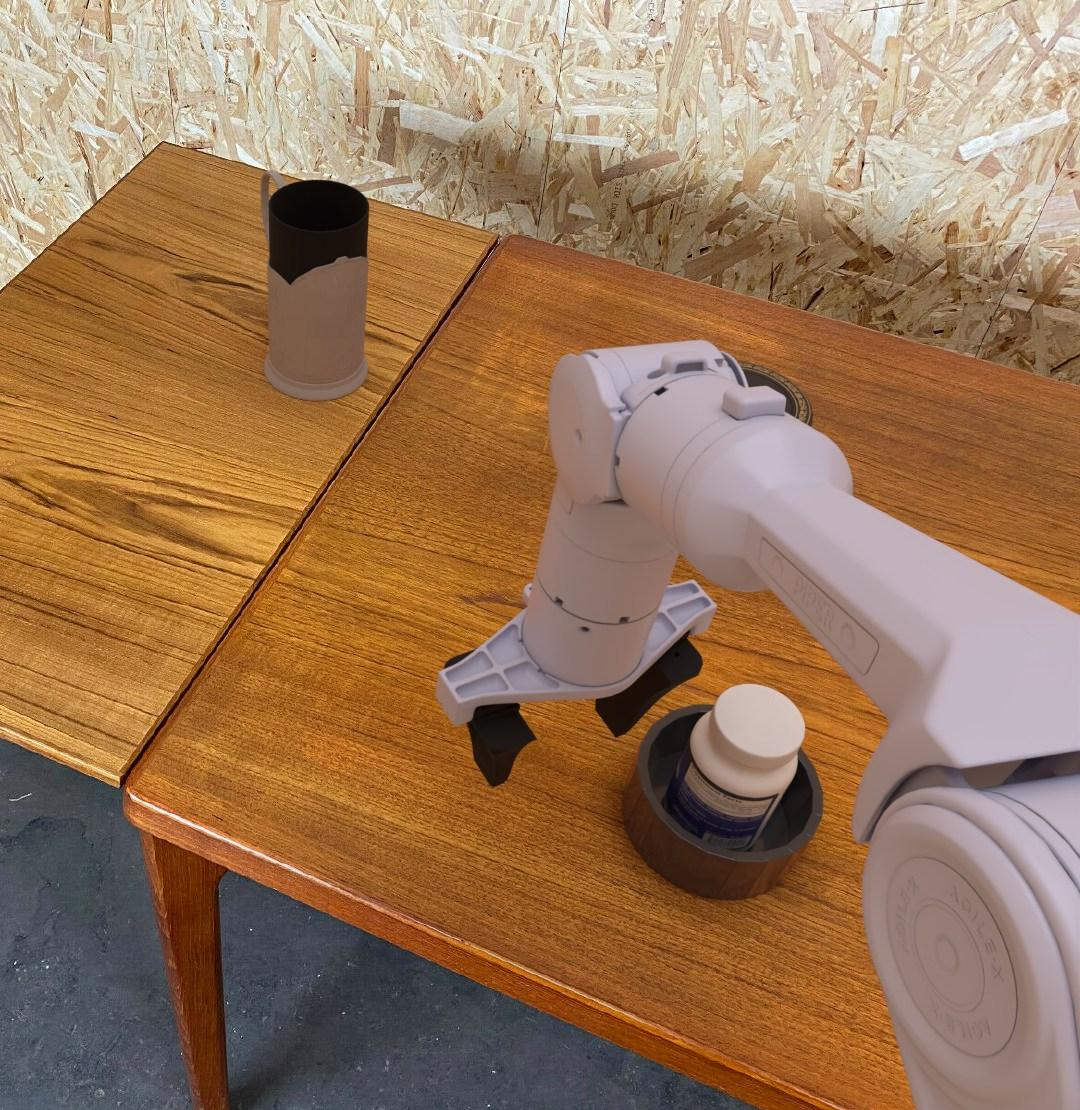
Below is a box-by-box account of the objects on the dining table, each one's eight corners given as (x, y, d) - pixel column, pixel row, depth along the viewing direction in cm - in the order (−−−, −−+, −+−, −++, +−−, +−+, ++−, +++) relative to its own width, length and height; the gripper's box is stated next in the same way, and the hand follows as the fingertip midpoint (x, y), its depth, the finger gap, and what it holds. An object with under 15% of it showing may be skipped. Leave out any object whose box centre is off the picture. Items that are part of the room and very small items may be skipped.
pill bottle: (701, 757, 70) (748, 657, 63) (779, 821, 67) (839, 725, 60) (641, 809, 67) (683, 711, 60) (719, 879, 64) (774, 785, 57)
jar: (680, 530, 84) (708, 452, 78) (630, 441, 90) (653, 363, 85) (805, 514, 85) (842, 437, 80) (747, 427, 92) (777, 350, 86)
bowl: (832, 871, 65) (861, 832, 62) (675, 922, 63) (696, 884, 60) (737, 729, 72) (758, 686, 68) (591, 769, 69) (606, 727, 66)
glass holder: (291, 412, 91) (291, 248, 80) (220, 317, 100) (211, 157, 89) (387, 383, 94) (399, 220, 83) (310, 293, 103) (312, 134, 92)
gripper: (679, 475, 56) (620, 648, 66) (415, 562, 51) (395, 733, 61) (773, 574, 51) (695, 744, 61) (494, 678, 47) (458, 842, 57)
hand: (550, 745), depth 61 cm, fingers open, 7 cm apart
